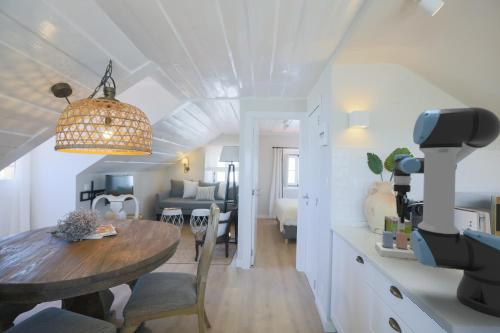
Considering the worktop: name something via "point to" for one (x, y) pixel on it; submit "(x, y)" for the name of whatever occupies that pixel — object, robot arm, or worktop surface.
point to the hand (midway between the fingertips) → (401, 229)
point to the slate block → (387, 239)
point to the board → (395, 251)
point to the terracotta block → (401, 240)
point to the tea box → (392, 226)
